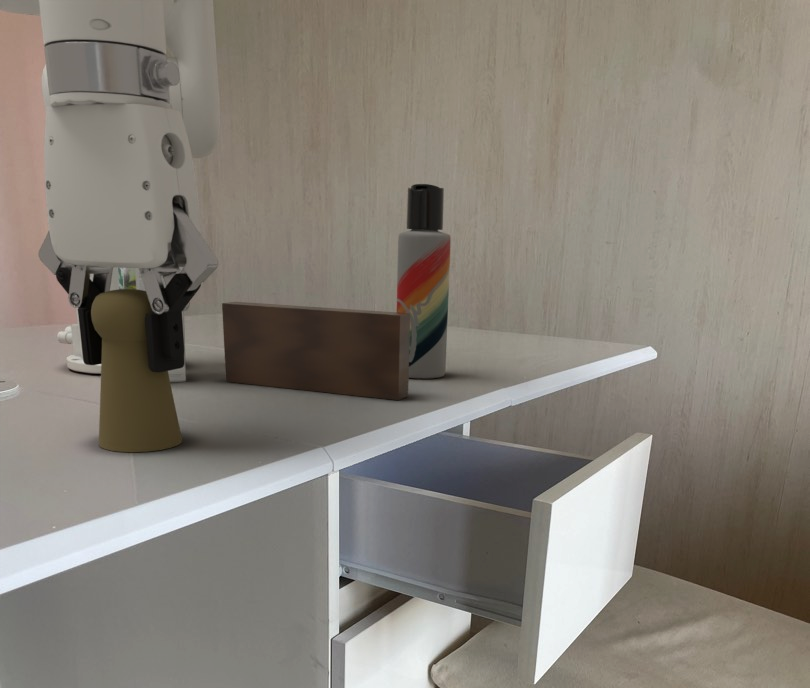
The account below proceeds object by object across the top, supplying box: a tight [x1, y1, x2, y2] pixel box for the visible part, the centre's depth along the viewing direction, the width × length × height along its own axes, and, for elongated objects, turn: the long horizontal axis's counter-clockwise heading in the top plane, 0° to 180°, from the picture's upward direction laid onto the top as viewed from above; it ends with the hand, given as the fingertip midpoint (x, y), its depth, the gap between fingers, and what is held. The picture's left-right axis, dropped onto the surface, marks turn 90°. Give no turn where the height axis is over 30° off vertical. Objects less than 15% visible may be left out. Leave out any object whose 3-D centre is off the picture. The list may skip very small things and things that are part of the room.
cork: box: [91, 289, 183, 453], centre depth 61 cm, size 6×6×11 cm
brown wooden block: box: [221, 301, 410, 401], centre depth 84 cm, size 20×2×8 cm, turn 66°
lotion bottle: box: [396, 183, 452, 380], centre depth 91 cm, size 6×6×20 cm
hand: (134, 363), depth 61 cm, fingers closed on cork, 5 cm apart
